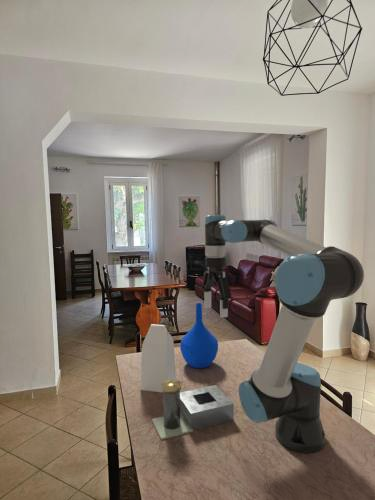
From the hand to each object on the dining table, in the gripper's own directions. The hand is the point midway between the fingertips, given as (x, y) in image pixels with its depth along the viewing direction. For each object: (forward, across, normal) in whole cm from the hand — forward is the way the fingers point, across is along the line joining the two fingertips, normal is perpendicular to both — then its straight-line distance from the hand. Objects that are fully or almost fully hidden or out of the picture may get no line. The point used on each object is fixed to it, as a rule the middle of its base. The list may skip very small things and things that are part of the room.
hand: (215, 312), depth 125 cm
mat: (+35, -9, +21) cm, 42 cm away
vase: (+35, +32, -7) cm, 48 cm away
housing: (+35, -7, +8) cm, 36 cm away
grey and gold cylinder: (+34, -9, +21) cm, 41 cm away
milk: (+35, +20, +17) cm, 44 cm away
